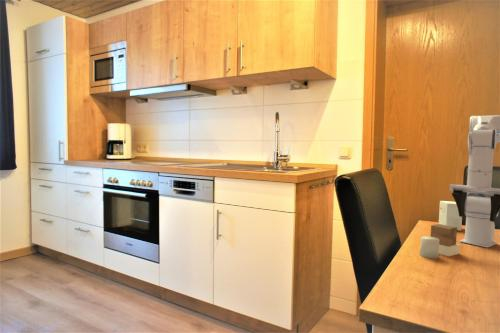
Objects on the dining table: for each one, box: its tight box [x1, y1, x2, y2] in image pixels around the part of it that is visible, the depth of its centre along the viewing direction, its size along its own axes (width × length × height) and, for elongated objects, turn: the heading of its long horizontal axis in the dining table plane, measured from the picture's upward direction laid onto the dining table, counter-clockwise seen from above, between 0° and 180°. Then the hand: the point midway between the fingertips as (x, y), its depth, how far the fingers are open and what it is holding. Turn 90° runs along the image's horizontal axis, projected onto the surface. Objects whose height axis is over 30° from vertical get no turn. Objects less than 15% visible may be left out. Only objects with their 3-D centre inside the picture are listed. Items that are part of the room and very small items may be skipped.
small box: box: [438, 200, 463, 232], centre depth 130 cm, size 8×6×10 cm
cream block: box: [439, 243, 461, 257], centre depth 95 cm, size 6×6×3 cm
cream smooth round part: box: [419, 235, 440, 260], centre depth 91 cm, size 4×4×5 cm
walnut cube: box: [429, 223, 458, 247], centre depth 95 cm, size 5×5×5 cm
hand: (476, 218), depth 94 cm, fingers open, 7 cm apart
